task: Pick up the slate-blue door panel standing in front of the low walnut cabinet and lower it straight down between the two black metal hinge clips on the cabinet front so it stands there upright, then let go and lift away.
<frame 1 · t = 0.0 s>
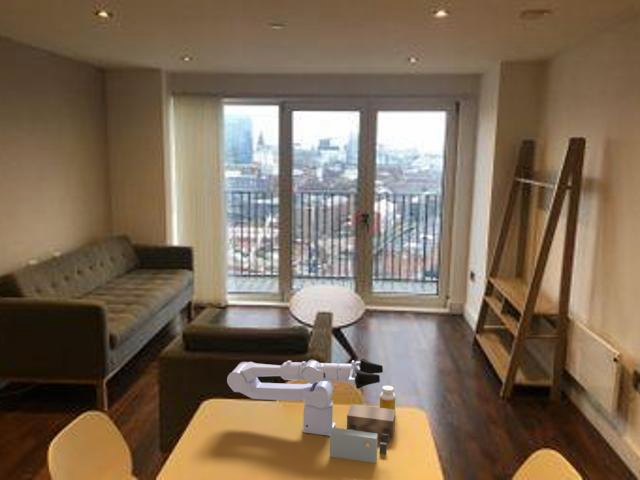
hand: (381, 373, 174), 22 cm above the table, tool horizontal, fingers open, 7 cm apart
supplement bottle: (386, 414, 194), on the table
cabinet: (366, 445, 173), on the table
door panel: (353, 457, 167), on the table
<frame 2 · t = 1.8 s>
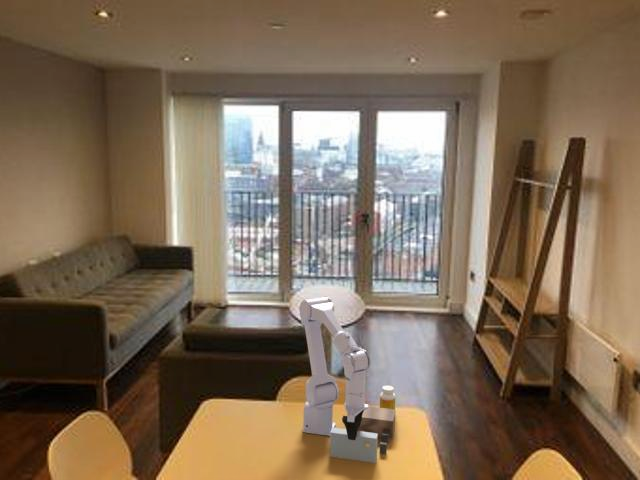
hand: (354, 432, 165), 8 cm above the table, tool pointing down, fingers open, 7 cm apart
nothing on the table moved.
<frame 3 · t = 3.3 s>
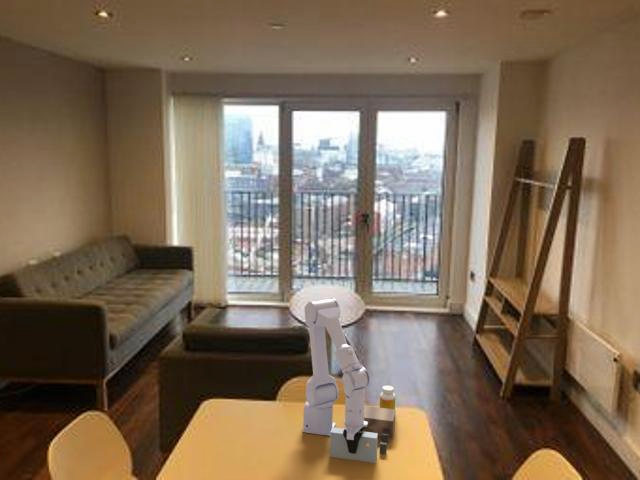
hand: (353, 449, 166), 2 cm above the table, tool pointing down, fingers closed on door panel, 3 cm apart
door panel: (353, 456, 167), on the table, touching gripper
everything else where it was.
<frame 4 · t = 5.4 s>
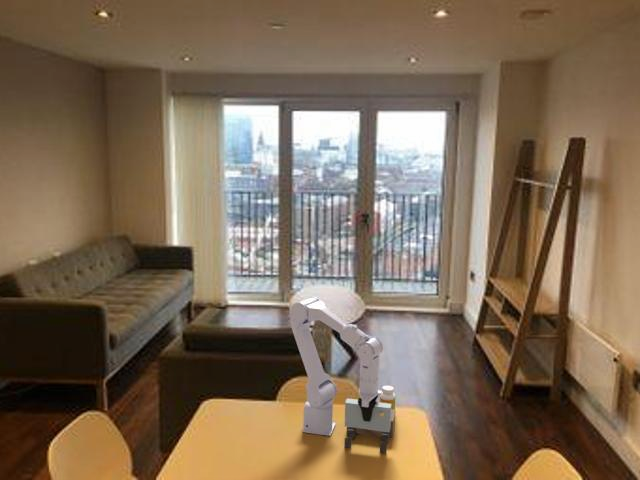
hand: (367, 418, 172), 9 cm above the table, tool pointing down, fingers closed on door panel, 3 cm apart
door panel: (367, 426, 172), point 6 cm above the table, touching gripper
everything else where it was.
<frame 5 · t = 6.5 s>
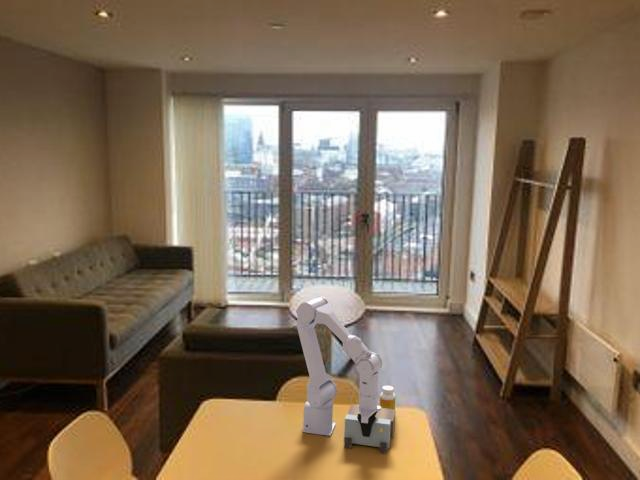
hand: (367, 433, 173), 4 cm above the table, tool pointing down, fingers closed on door panel, 3 cm apart
door panel: (366, 442, 173), point 1 cm above the table, touching gripper
everything else where it was.
when the fingers open (4 cm above the table, at t = 7.3 s): door panel stays where it is, on the table.
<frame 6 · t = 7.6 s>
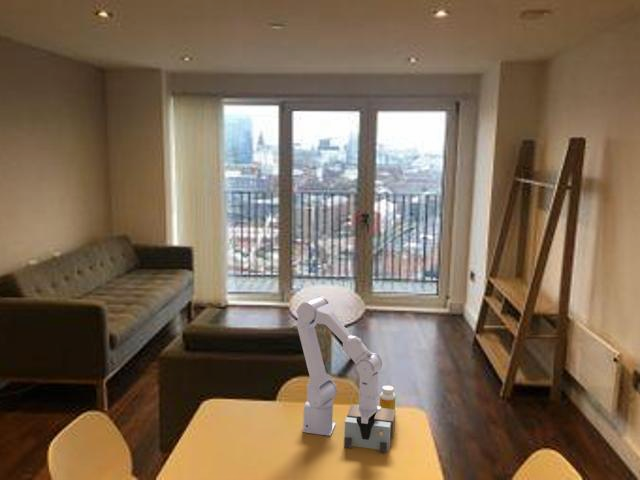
hand: (367, 433, 173), 4 cm above the table, tool pointing down, fingers open, 6 cm apart
door panel: (366, 445, 173), on the table
everything else where it was.
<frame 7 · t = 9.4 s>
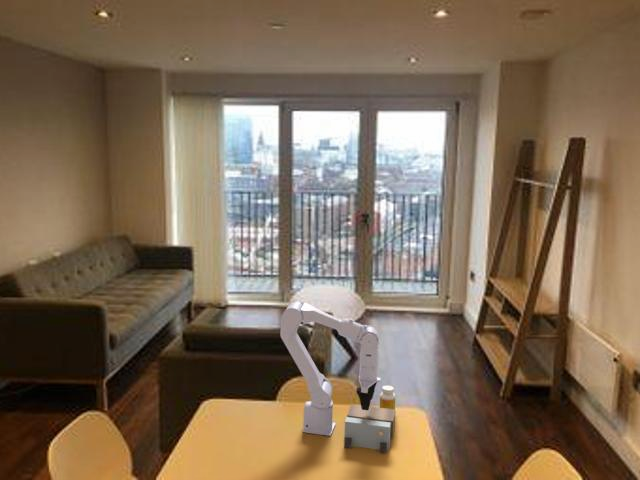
hand: (367, 404, 179), 10 cm above the table, tool pointing down, fingers open, 7 cm apart
nothing on the table moved.
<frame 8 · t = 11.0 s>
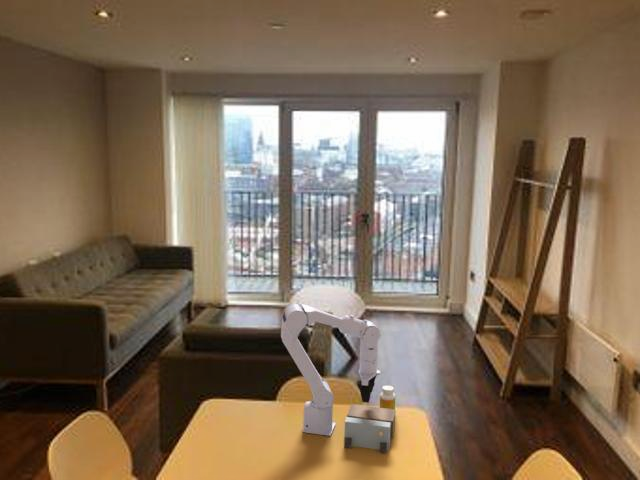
hand: (367, 396, 183), 10 cm above the table, tool pointing down, fingers open, 7 cm apart
nothing on the table moved.
at the end: door panel 0.1 cm off-centre on the cabinet, point 0.0 cm above the cabinet's base; door panel tilted 0°; the gripper is holding nothing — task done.
